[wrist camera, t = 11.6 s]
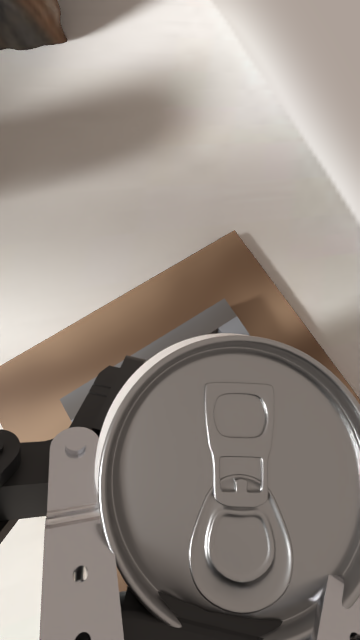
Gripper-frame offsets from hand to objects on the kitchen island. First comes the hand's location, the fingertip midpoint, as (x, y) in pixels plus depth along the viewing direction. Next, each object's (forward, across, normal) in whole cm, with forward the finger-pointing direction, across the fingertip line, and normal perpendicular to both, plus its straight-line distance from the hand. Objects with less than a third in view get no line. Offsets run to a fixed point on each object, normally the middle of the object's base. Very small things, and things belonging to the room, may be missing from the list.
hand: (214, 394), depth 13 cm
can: (+3, 0, +6) cm, 7 cm away
